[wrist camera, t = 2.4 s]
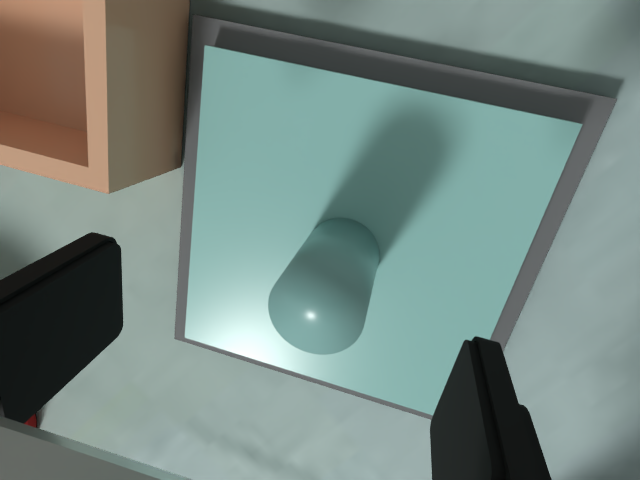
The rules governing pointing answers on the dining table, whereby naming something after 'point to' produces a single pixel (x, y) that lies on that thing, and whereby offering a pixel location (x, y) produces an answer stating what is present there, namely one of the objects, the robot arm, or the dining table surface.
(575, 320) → the dining table surface
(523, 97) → the mat
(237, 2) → the dining table surface
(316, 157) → the lid
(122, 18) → the pink storage bin
